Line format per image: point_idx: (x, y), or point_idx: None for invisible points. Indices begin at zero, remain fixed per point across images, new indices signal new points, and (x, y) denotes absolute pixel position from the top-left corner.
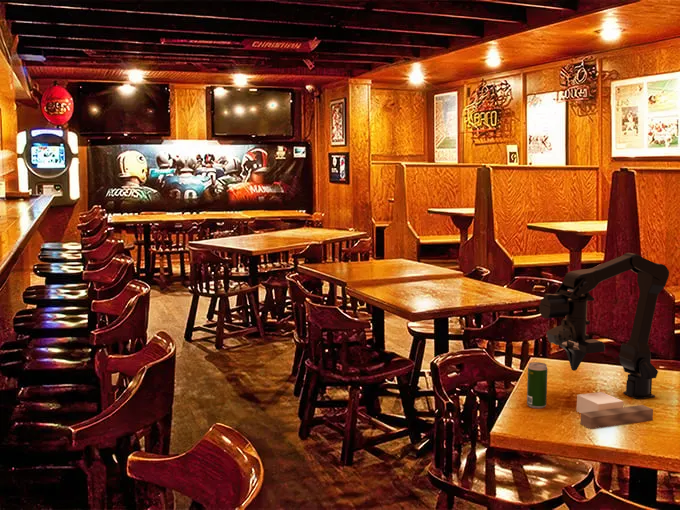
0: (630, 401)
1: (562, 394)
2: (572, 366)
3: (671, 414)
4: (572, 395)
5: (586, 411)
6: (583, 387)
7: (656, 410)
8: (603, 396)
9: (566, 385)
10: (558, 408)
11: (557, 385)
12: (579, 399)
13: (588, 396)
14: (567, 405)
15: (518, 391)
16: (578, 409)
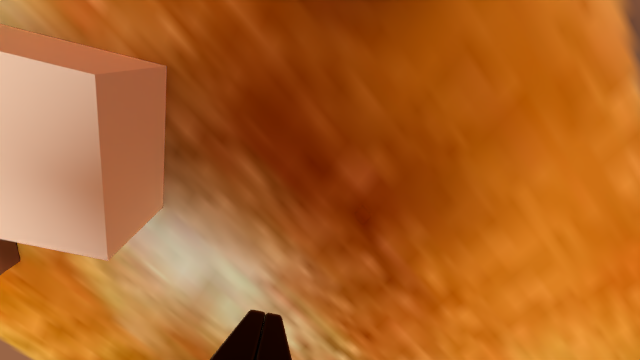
0: (189, 349)
1: (411, 233)
2: (246, 344)
3: (12, 338)
4: (370, 255)
5: (51, 42)
6: (409, 356)
7: (67, 337)
8: (7, 197)
9: (474, 333)
10: (258, 19)
11: (505, 310)
12: (83, 63)
13: (27, 112)
14: (273, 113)
15: (633, 85)
16: (138, 62)
